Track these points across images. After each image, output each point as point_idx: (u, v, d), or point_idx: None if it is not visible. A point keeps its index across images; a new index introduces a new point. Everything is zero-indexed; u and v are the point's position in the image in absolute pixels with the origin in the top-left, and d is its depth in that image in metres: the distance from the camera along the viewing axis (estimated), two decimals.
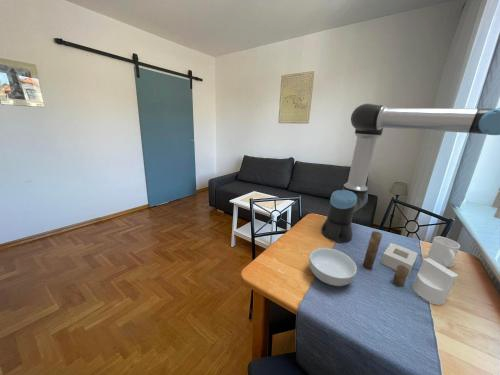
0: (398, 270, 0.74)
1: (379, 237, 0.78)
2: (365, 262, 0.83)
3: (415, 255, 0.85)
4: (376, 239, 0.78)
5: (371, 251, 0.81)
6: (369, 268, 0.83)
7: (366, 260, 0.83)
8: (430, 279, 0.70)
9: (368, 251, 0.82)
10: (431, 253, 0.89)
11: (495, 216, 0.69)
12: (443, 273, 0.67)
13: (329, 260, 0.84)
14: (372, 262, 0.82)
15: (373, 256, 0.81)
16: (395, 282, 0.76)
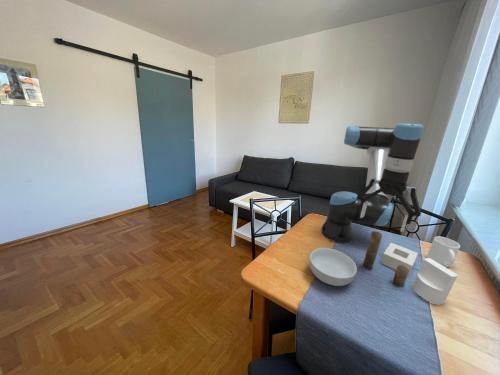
0: (398, 270, 0.74)
1: (379, 237, 0.78)
2: (365, 262, 0.83)
3: (415, 255, 0.85)
4: (376, 239, 0.78)
5: (371, 251, 0.81)
6: (369, 268, 0.83)
7: (366, 260, 0.83)
8: (430, 279, 0.70)
9: (368, 251, 0.82)
10: (431, 253, 0.89)
11: None
12: (443, 273, 0.67)
13: (329, 260, 0.84)
14: (372, 262, 0.82)
15: (373, 256, 0.81)
16: (395, 282, 0.75)
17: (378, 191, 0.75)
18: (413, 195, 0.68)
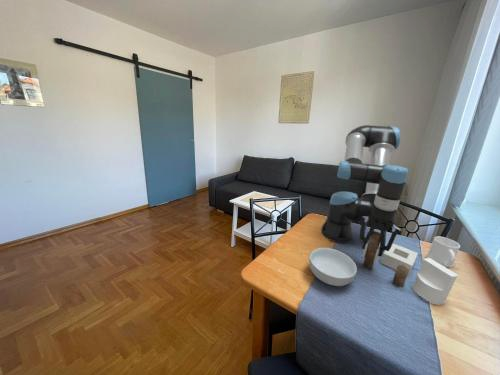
0: (398, 270, 0.74)
1: (379, 237, 0.78)
2: (365, 262, 0.83)
3: (415, 255, 0.85)
4: (376, 239, 0.78)
5: (371, 251, 0.81)
6: (369, 268, 0.83)
7: (366, 260, 0.83)
8: (430, 279, 0.70)
9: (368, 251, 0.82)
10: (431, 253, 0.89)
11: None
12: (443, 273, 0.67)
13: (329, 260, 0.84)
14: (372, 262, 0.82)
15: (373, 256, 0.81)
16: (395, 282, 0.75)
17: (371, 228, 0.79)
18: (394, 235, 0.74)
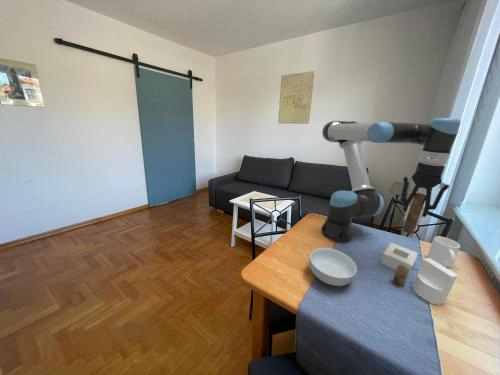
0: (398, 270, 0.74)
1: (424, 197, 0.75)
2: (406, 226, 0.81)
3: (415, 255, 0.85)
4: (421, 199, 0.76)
5: (414, 213, 0.78)
6: (411, 232, 0.80)
7: (408, 224, 0.80)
8: (430, 279, 0.70)
9: (410, 214, 0.79)
10: (431, 253, 0.89)
11: None
12: (443, 273, 0.67)
13: (329, 260, 0.84)
14: (414, 225, 0.79)
15: (416, 218, 0.78)
16: (395, 282, 0.75)
17: (416, 187, 0.76)
18: (442, 191, 0.71)
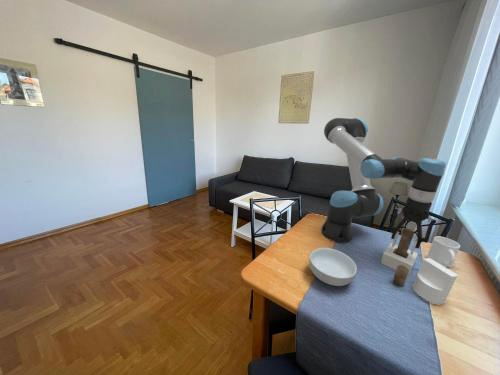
0: (398, 270, 0.74)
1: (411, 234, 0.81)
2: None
3: (415, 255, 0.85)
4: (409, 236, 0.81)
5: (403, 247, 0.84)
6: None
7: None
8: (430, 279, 0.70)
9: (399, 248, 0.85)
10: (431, 253, 0.89)
11: None
12: (443, 273, 0.67)
13: (329, 260, 0.84)
14: None
15: (404, 252, 0.84)
16: (395, 282, 0.75)
17: (404, 219, 0.81)
18: (431, 225, 0.76)
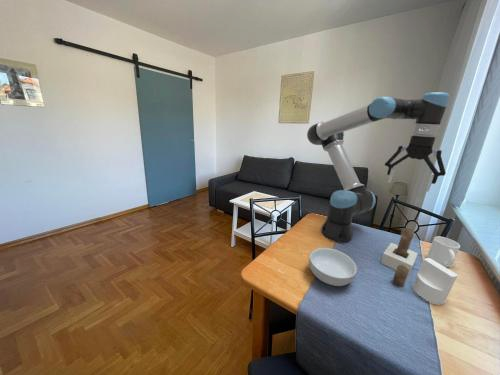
0: (398, 270, 0.74)
1: (411, 234, 0.81)
2: None
3: (415, 255, 0.85)
4: (409, 236, 0.81)
5: (403, 247, 0.84)
6: None
7: None
8: (430, 279, 0.70)
9: (399, 248, 0.85)
10: (431, 253, 0.89)
11: None
12: (443, 273, 0.67)
13: (329, 260, 0.84)
14: None
15: (404, 252, 0.84)
16: (395, 282, 0.75)
17: (406, 156, 0.84)
18: (439, 157, 0.77)
